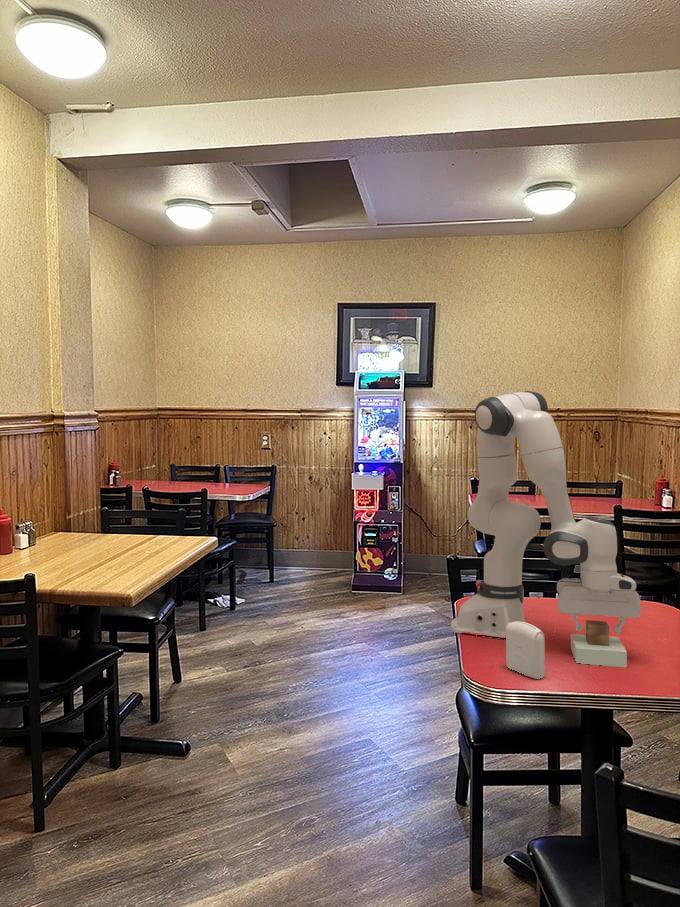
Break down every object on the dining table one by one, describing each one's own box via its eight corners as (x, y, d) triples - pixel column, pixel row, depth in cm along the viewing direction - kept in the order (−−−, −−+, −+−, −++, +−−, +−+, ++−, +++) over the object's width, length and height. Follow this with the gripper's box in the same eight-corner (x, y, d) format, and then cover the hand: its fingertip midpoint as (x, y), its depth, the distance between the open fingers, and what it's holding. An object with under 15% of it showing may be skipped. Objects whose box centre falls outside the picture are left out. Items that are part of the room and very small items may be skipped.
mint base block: (576, 663, 162) (576, 648, 162) (570, 648, 174) (570, 633, 174) (626, 667, 159) (626, 651, 159) (617, 651, 171) (617, 636, 171)
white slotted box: (503, 668, 160) (503, 619, 159) (515, 664, 162) (515, 616, 162) (535, 681, 151) (535, 630, 151) (547, 677, 153) (547, 627, 153)
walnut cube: (588, 644, 165) (588, 625, 165) (585, 638, 170) (586, 620, 170) (609, 646, 164) (609, 626, 163) (605, 639, 168) (606, 621, 168)
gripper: (558, 580, 166) (557, 632, 166) (642, 584, 161) (642, 638, 161) (555, 574, 172) (555, 625, 172) (637, 578, 167) (636, 630, 167)
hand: (598, 631), depth 167 cm, fingers open, 8 cm apart
